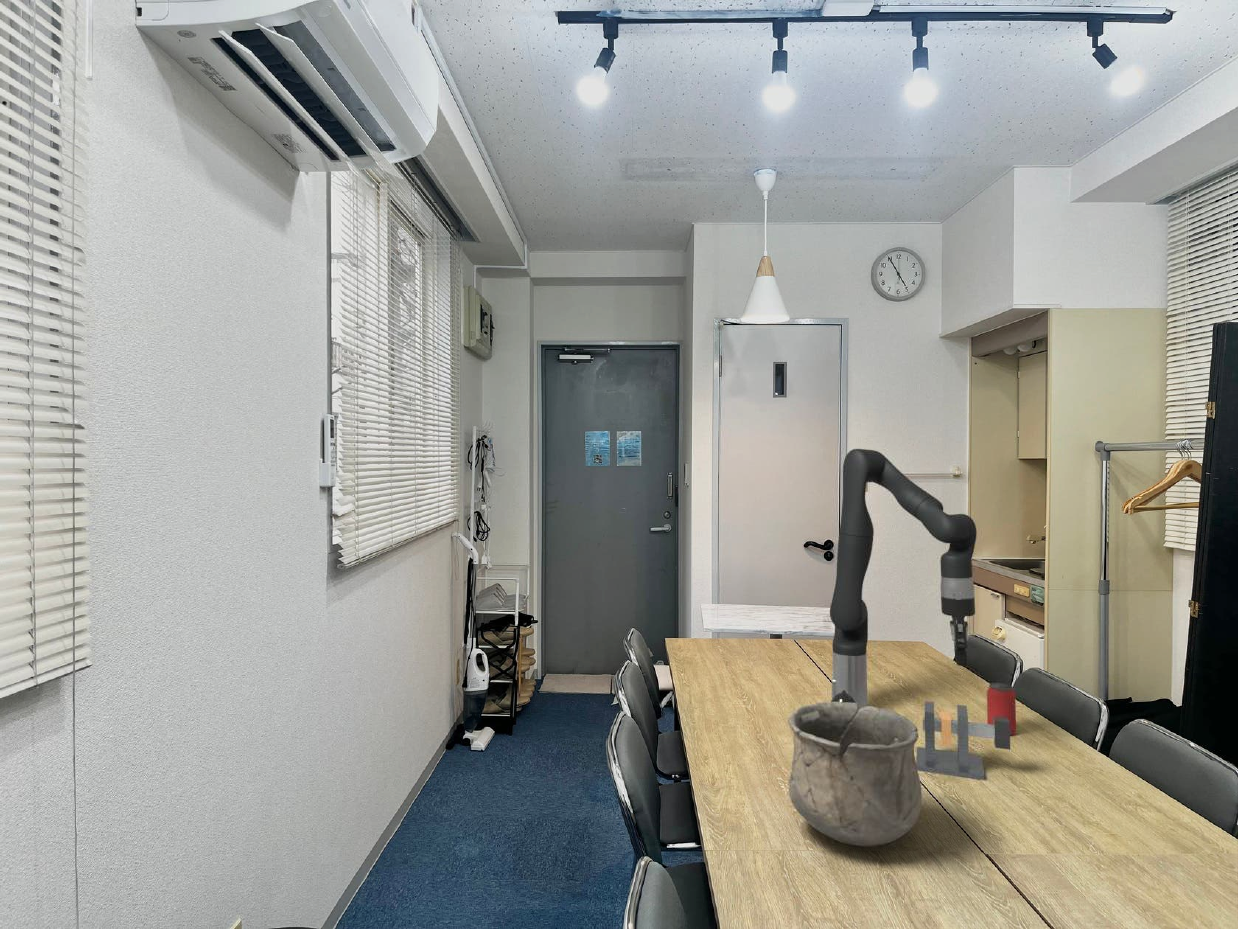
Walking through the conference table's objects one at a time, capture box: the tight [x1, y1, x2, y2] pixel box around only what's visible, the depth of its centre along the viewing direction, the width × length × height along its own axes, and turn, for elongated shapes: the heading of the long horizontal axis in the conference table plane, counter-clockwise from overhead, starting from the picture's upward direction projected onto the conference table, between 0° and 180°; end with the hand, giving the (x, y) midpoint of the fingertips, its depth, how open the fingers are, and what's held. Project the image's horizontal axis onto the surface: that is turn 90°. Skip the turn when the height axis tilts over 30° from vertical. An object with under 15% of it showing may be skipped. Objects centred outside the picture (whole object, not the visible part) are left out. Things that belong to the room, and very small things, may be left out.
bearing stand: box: [915, 700, 985, 781], centre depth 163 cm, size 14×12×13 cm
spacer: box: [940, 710, 952, 747], centre depth 163 cm, size 2×6×6 cm, turn 156°
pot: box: [787, 701, 923, 847], centre depth 133 cm, size 25×24×21 cm
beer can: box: [986, 682, 1017, 736], centre depth 183 cm, size 7×7×12 cm
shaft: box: [922, 715, 1011, 750], centre depth 162 cm, size 18×3×6 cm, turn 66°
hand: (960, 661), depth 172 cm, fingers open, 8 cm apart
